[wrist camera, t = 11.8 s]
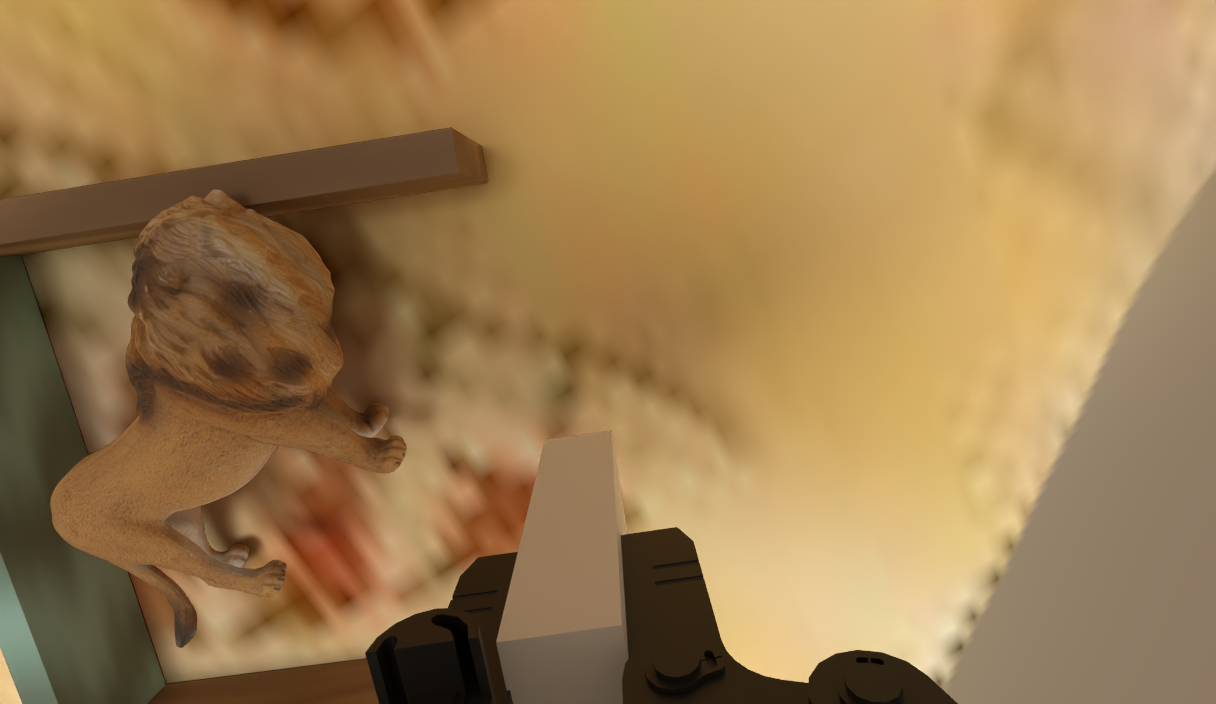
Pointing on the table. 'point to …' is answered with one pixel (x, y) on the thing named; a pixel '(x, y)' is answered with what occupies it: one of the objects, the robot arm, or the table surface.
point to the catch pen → (52, 445)
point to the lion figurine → (215, 397)
